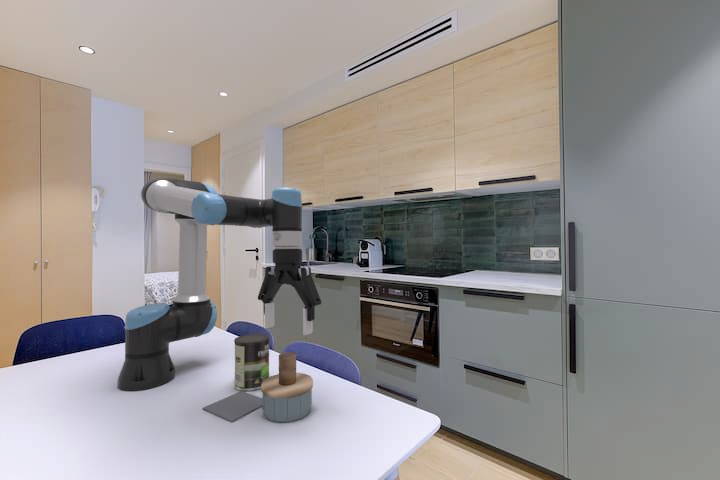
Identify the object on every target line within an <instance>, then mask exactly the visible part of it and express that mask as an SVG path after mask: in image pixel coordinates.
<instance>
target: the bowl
mask: <svg viewBox="0 0 720 480" xmlns="http://www.w3.org/2000/svg"><path fill="white" fill-rule="evenodd" d="M312 395H313V388H312V389H311V390H310V391H309V392H307V393H305V394H303V395H300V396H297V397H292V398H282V399H280V398H271V397H268V396H266V395H264V394H263V393H262V398H263V407H262V410H263V413H262V414H263V417H264V418H265V419H266V420H267V421H270V422H273V423H282V424H284V423H292V422H296V421H299V420H302V419H304V418H305V417H307V416H308V415H309V414H310V413H311V411H312V405H313V402H312V401H313V396H312Z"/></svg>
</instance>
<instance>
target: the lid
mask: <svg viewBox="0 0 720 480" xmlns="http://www.w3.org/2000/svg"><path fill="white" fill-rule="evenodd" d="M313 386H314V380H313V377H312V376H311V375H309V374H307V373H303V372H297V353H295V352H293V351H287V352H282V353H279V354H278V373H277V374H275V375H271V376H269V378H267V379H265V380H264V381H263V382H262V384H261V389H260V391H261V393H262V395H263V394H264V395H266V396H268V397H271V398H280V399H282V398H292V397H297V396H300V395H303V394H305V393H307V392H309V391H310V390H311V389H312V390H313Z"/></svg>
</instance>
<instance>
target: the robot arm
mask: <svg viewBox="0 0 720 480" xmlns="http://www.w3.org/2000/svg"><path fill="white" fill-rule="evenodd" d="M140 196H141V200H142V202H143V204H144V205H145V206H146V207H147V208H148V209H150V210H152V211H154V212H158V213H163V214H171V215H174V221H176V223H177V224H178V225H179V240H178V242H179V243H178V245H179V247H178V278H177V279H178V280H177V281H178V283H177V284H178V286H177V287H178V288H177V295H176V296H175V297H174V298H173V299H172V305H171V306H170V305H169V303H167V302H157V303H151V304H145V305H141V306H138V307H135V308H134V309H133V308H132V309H131V310H129V311H128V312H127V313H126V315H125V324H124V330H125V331H124V335H125V336H124V337H125V338H124V339H125V340H124V360H123V361H124V362H123V364H122V367H121V369H120V372H119V375H118V378H117V388H118V389H120V390H122V391H129V392H131V391H143V390H147V389H148V390H149V389H151V388H152V389H153V388H156V387H159V386H162V385H164V384H168V383H169V382H171V381H172V380H174V378H175V377H176V368H175V366H174V363H173V360H172V358H171V355H170V344H171V343H173V342H178V341H182V340H188V339H191V338H198V337H200V336H203V335H207V334H209V333H210V332H211V331H212V330H213V329H214V327H215V326H216V323H217V319H218V311H217V309H216V304H215V303H214V302H213V301H212V300H211V297H210V296H209V295H208V294H207V292H206V290H207V289H206V288H207V287H206V286H207V251H208V250H207V249H208V248H207V247H208V227H209V226H235V227H236V226H237V227H249V228H253V229H255V228H257V229H260V228H261V229H262V228H267V227H268V228H269V227H272V229H271V230H272V247H274V249H272V263H273V264H274V265H270V266H268V265H267V266H266V267H265V274H264V278H263V281H262V283H261V286H260V289H259V292H258V295H257V300H258V301H261V302H262V303H263V315H264V329H270V328H273V327H276V326H275V325H276V323H275V317H276V316H275V301H274V298H275V297H276V295H277V294H278V292H279V290H280V289H281V287H282V285H288V286H290V285H291V287H293V288H294V289H295V291H296V293H297V295H298V296H299V298H300V300H301V301H302V303H303V304H304V307H302V326H303V327H302V329H303V330H302V334H303V336H308V335H310V334H312V333H314V323H313V322H314V320H315V317H316V316H315V308H316V307H317V306H321V304H322V300H321V297H320V294H319V292H318V290H317V287H316V283H315V281H314V279H313V276H312V269H311V267H310V266H303V267H302V266H301V263H302V262H303V250H302V247H303V228H302V227H303V220H302V219H303V218H302V217H303V214H302V213H303V202H302V200H303V199H302V193H301V191H300V190H299V189H297V188H294V187H277V188H276V187H275V188H273V190H272V191H271V198H265V199H257V198H251V197H250V198H249V197H242V196H234V195H227V194H220V193H218V192H217V190H216V189H215V187H214V186H213V185H211V184H209V183H205V182H201V181H195V180H194V181H192V180H187V179H178V178H172V177H156V178H153V179H150V180H148V181H147V182H146V183H145V184H144V185H143V186H142V189H141V191H140Z"/></svg>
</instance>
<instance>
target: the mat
mask: <svg viewBox="0 0 720 480" xmlns="http://www.w3.org/2000/svg"><path fill="white" fill-rule="evenodd" d="M260 408H263V397H260V396H258V395H255V394H252V393H248V392H247V391H241V390H239V391H237V392H235V393H233V394H231V395H228V396H227V397H224V398H222V399H219V400H217V401H214V402H213V403H211V404H209V405H206V406H204V407H202V411H205V412H207V413H209V414H212V415H214V416H216V417H218V418H220V419H223V420H224V421H227V422H229V423H234V422H236V421H238V420H240V419H242V418H244V417H245V416H247V415H249V414H251V413H253V412H255V411H257V410H259V409H260Z"/></svg>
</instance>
